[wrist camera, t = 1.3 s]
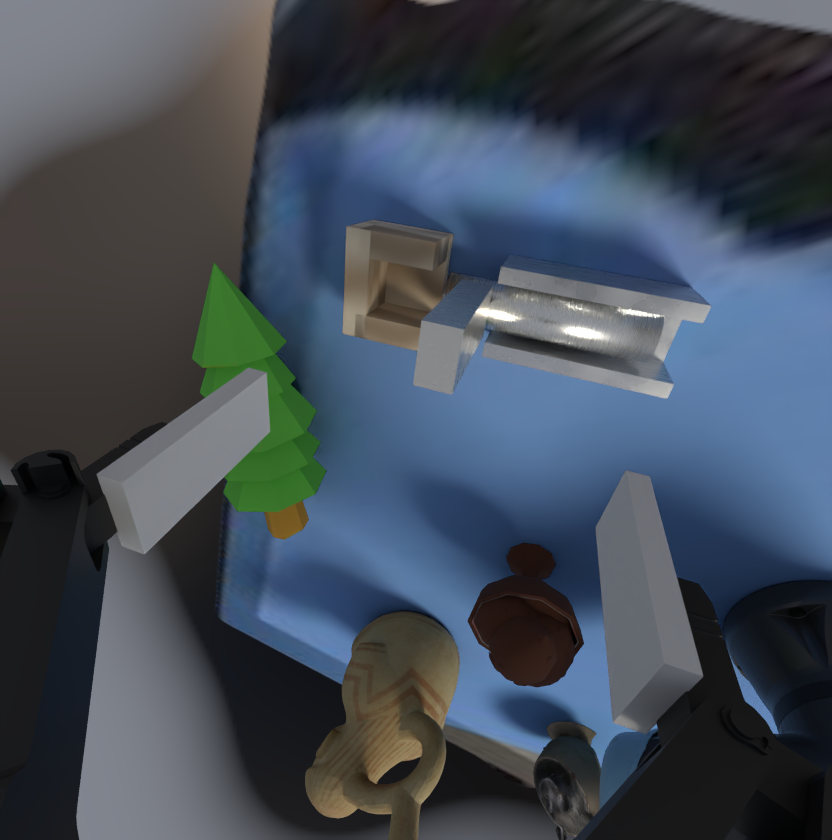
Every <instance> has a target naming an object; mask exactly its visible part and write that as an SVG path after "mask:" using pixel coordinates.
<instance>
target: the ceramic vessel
mask: <svg viewBox="0 0 832 840" xmlns="http://www.w3.org/2000/svg"><path fill="white" fill-rule="evenodd" d="M459 666H460V660H459V653H458V649H457V645H456V643H455V641H454V639H453V638H452V636H451V635H450V634H449V633H448V631H447V630H446V629H445V628H444V627H442V626H441V625H440V624H439V623H437V622H436V621H434V620H433V619H431V618H429V617H427V616H425V615H423V614H419V613H415V612H409V611H398V612H392V613H389V614H385V615H383V616H380V617H378V618H376V619H375V620H373V621H372V622H370V623H369V624H368V625H367V626H365V627H364V628H363V629H362V630H361V631H360V633H359V634H358V635H357V637H356V638H355V639H354V642H353V644H352V657H351V660H350V662H349V664H348V667H347V669H346V672H345V675H344V679H343V684H342V699H343V703H344V707H345V710H346V723H345V724H344V725H341V726H338V727H336V728H335V729H333V730H332V731H331V732H330V733H329V734H328V736H327V737H326V738H325V740H324V742H323V743H322V744H321V746H320V747H319V749H318V751H317V752H316V759H315V761H314V764H313V767H311V768H309V769H308V770H307V772H306V777H305V784H306V791H307V794H308V797H309V799H310V800H311V802H312V804H313V805H314V807H315V808H316V809H317V810H318V811H319V812H320V813H321V814H323V815H325V816H328V817H332V818H342V817H345V816H348V815H350V814H351V813H353V812H354V811H355V810H356V809H357V808H359V809H361V810H363V811H366V812H368V813H374V814H392V815H391V825H390V832H389V839H388V840H418V827H419V825H418V824H419V812H420V805H421V803H422V802H423V801H424V800H425V799H426V798H427V797H428V796H429V795H430V793H431V792H432V790H433V789H434V787H435V786H436V784H437V782H438V781H439V778H440V775H441V773H442V770H443V767H444V763H445V757H446V745H445V738H444V735H443V731H442V729H443V727H444V723H445V717H446V715H447V712H448V709H449V707H450V704H451V701H452V699H453V696H454V692H455V689H456V685H457V680H458V674H459ZM420 756H421V758H420V761H419V763H418V765H417V767H416V768H415V769H414V771H413V772H412V773H411V774H410V775H409V776H408V777H406V778H405V779H403V780H401V781H399V782H396V783H393V784H387V785H382V784H377V781H378V780H379V778H380V777H381V776H382V775H383V774H384V773H385V772H387V771H388V770H389V769H390V768H391V767H393V766H394V765H396V764H397V763H399V762H400V761H406V760H413V759H416V758H418V757H420Z"/></svg>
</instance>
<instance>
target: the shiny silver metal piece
mask: <svg viewBox="0 0 832 840" xmlns="http://www.w3.org/2000/svg"><path fill="white" fill-rule="evenodd" d="M663 325H664V316H662V315H657V314H652V313H647V312H642V311H637V310H631V309H626V308H621V307H616V306H611V305H606V304H601V303H596V302H590V301H585V300H580V299H575V298H570V297H565V296H560V295H554V294H549V293H544V292H539V291H534V290H529V289H524V288H519V287H513V286H508V285H503V284H498V281H494V280H489V279H484V278H479V277H474V276H469V275H464V274H458V273H453V272H451V273H450V275H449V277H448V279H447V282H446V285H445V288H444V292H443V297H442V300H441V301H440V302H439V303H438V304H437V305H436V306H435V307H434V308H433V309H432V310H431V311H430V312H429V313H428V314H427V315H426V316H425V317H424V318H423V319H422V321H421V328H420V336H419V344H418V351H417V359H416V367H415V374H414V382H413V385H415V386H419V387H423V388H427V389H431V390H435V391H439V392H443V393H447V394H451V395H452V394H453V392H454V390H455V388H456V386H457V384H458V382H459V381H460V379H461V377H462V375H463V373H464V371H465V369H466V367H467V365H468V363H469V362H470V360H471V358H472V356H473V354H474V352H475V350H476V348H477V346H478V344H479V343H480V341H481V339H482V337H483V333H484V329H488V330H493V331H497V332H502V333H507V334H511V335H516V336H521V337H525V338H530V339H534V340H539V341H544V342H548V343H553V344H558V345H562V346H567V347H571V348H576V349H581V350H585V351H590V352H595V353H599V354H604V355H608V356H613V357H618V358H622V359H627V360H632V361H636V362H641V363H647V362H648V361H649V360H650V359H651V357H652V356H653V354H654V352H655V350H656V348H657V345H658V343H659V340H660V337H661V334H662V330H663Z"/></svg>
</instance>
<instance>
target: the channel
mask: <svg viewBox="0 0 832 840" xmlns="http://www.w3.org/2000/svg"><path fill="white" fill-rule="evenodd" d="M498 284H503V285H508V286H513V287H519V288H524V289H529V290H534V291H539V292H544V293H549V294H554V295H560V296H565V297H570V298H575V299H580V300H585V301H590V302H596V303H601V304H606V305H611V306H616V307H621V308H626V309H631V310H637V311H642V312H647V313H652V314H657V315H662V316H664V325H663V330H662V334H661V337H660V340H659V343H658V345H657V348H656V350H655V352H654V354H653V356H652V357H651V359H650V360H649V361H648V362H647V363H641V362H636V361H632V360H627V359H622V358H618V357H613V356H608V355H604V354H599V353H595V352H590V351H585V350H581V349H576V348H571V347H567V346H562V345H558V344H553V343H548V342H544V341H539V340H534V339H530V338H525V337H521V336H516V335H511V334H507V333H502V332H497V331H493V330H491V331H490V333H489V335H488V337H487V339H486V341H485V344H484V349H483V354H482V357H486V358H491V359H495V360H500V361H504V362H508V363H513V364H517V365H521V366H526V367H530V368H535V369H539V370H543V371H548V372H552V373H556V374H561V375H565V376H570V377H574V378H578V379H583V380H587V381H591V382H596V383H600V384H605V385H609V386H613V387H618V388H622V389H626V390H631V391H635V392H640V393H644V394H648V395H653V396H657V397H661V398H666V399H667V398H668V396H669V394H670V392H671V390H672V387H673V385H674V383H673V381H672V379H671V377H670V375H669V373H668V371H667V369H666V367H665V365H664V363H663V361H664V359H665V356H666V354H667V352H668V350H669V348H670V345H671V343H672V341H673V339H674V336H675V334H676V332H677V330H678V328H679V325H680V323H681V321H682V319H683V320H688V321H693V322H698V323H704V321H705V318H706V316H707V314H708V312H709V310H710V308H711V305H710V304H709V303H708V302H707V301H706V300H705V299H704V298H703V297H702V296H701V295H700V294H698V293H697V292H696V291H695V290H694V289H693V288H692V287H687V286H681V285H676V284H670V283H665V282H659V281H654V280H648V279H643V278H637V277H632V276H626V275H621V274H615V273H610V272H604V271H599V270H593V269H588V268H582V267H577V266H571V265H566V264H560V263H555V262H549V261H544V260H538V259H532V258H527V257H521V256H516V255H509V256H508V258H507V259H506V260H505V262H504V263H503V265H502V266H501V270H500V274H499V279H498Z"/></svg>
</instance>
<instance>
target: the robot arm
mask: <svg viewBox="0 0 832 840" xmlns="http://www.w3.org/2000/svg"><path fill="white" fill-rule="evenodd" d="M269 432H270V420H269V403H268V386H267V372H263V371H259V370H256V369H252V368H247V369H246V370H244V371H243V372H241V373H240V374H239V375H237V376H236V377H234V378H233V379H231V380H230V381H229V382H227V383H226V384H224V385H223V386H221V387H220V388H219V389H217V390H216V391H214V392H213V393H211V394H210V395H209V396H207V397H206V398H204V399H203V400H202V401H200V402H199V403H197V404H196V405H194V406H193V407H192V408H190V409H189V410H187V411H186V412H184V413H183V414H182V415H180V416H179V417H177V418H176V419H174V420H173V421H172V422H170V423H169V424H166V423H163V422H161V423H158V424H155V425H153V426H150V427H147V428H144V429H143V430H141V431H140V432H138V433H137V434H135V435H134V436H132V437H131V438H130V440H126V441H125V442H124V443H122V444H121V445H119V447H118V448H115V449H113V450H112V451H110V452H109V453H107V454H106V455H104V456H103V457H101V458H100V459H98V460H97V461H95V462H94V463H92V464H91V465H89V466H88V467H86V468H85V469H83V470H82V471H80V468H79V465H78V463H77V460H76V457H75V456H74V455H73V454H72V453H70V452H69V451H64V450H47V451H42V452H38V453H35V454H32V455H30V456H27V457H25V458H23V459H22V460H21V461H19V462H18V463H16V464H15V466H14V467H13V468H12V469H11V472H12V474H13V476H14V478H15V480H16V482H17V483H18V485H3V484H2V482H1V480H0V840H79V836H78V830H77V822H76V813H77V803H78V795H79V787H80V779H81V770H82V763H83V755H84V746H85V738H86V731H87V723H88V722H87V721H88V715H89V706H90V698H91V690H92V682H93V674H94V666H95V658H96V650H97V642H98V634H99V626H100V618H101V610H102V602H103V594H104V586H105V578H106V569H107V561H108V553H109V547H108V542H107V540H108V539H110V538H111V537H112V536H113V535H114V534H115V533H116V532H117V534H118V537H119V540H120V542H121V545H122V546H123V547H126V548H128V549H131V550H134V551H137V552H140V553H142V554H145V553H146V552H147V551H148V550H149V549H150V548H152V547H153V546H154V544H156V543H157V542H158V541H159V540H160V539H161V538H162V537H163V536H164V535H165V534H166V533H167V532H168V531H169V530H170V529H171V528H172V527H173V526H174V525H175V524H176V523H177V522H178V521H179V520H180V519H181V518H182V517H183V516H184V515H185V514H186V513H187V512H188V511H189V510H190V509H192V508H193V507H194V506H195V505H196V504H197V503H198V502H199V501H200V500H201V499H202V498H203V497H204V496H205V495H206V494H207V493H208V492H209V491H210V490H211V489H212V488H213V487H214V486H215V485H216V484H217V483H218V482H219V481H220V480H221V479H222V478H223V477H224V476H225V475H226V474H227V473H228V472H229V471H230V470H232V469H233V468H234V467H235V466H236V465H237V464H238V463H239V462H240V461H241V460H242V459H243V458H244V457H245V456H246V455H247V454H248V453H249V452H250V451H251V450H252V449H253V448H254V447H255V446H256V445H257V444H258V443H259V442H260V441H261V440H262V439H263V438H264V437H265V436H266V435H267V434H268V433H269ZM596 539H597V550H598V562H599V573H600V584H601V595H602V606H603V617H604V629H605V640H606V651H607V662H608V673H609V684H610V696H611V707H612V718H613V723H616V724H618V725H621V726H624V727H627V728H630V729H632V730H635V731H638V732H623V733H620V734H618V735H616V736H615V737H614V738H613V739H612V740H611V742H610V743H609V746H608V747H607V749H606V751H605V754H604V758H603V762H602V767H601V775H600V789H599V811H598V812H597V813H596V815H595V816H594V817H593V818H592V819H591V820H590V821H589V822H588V824H587V825H586V826H585V827H584V828H583V829H582V830H581V832H580V833H579V834H578V835H577V836H576V837H575V839H573V840H832V582H827V581H801V582H792V583H785V584H780V585H776V586H772V587H769V588H765V589H763V590H760V591H758V592H755V593H753V594H751V595H749V596H748V597H746V598H744V599H743V600H741V601H740V602H739V603H737V604H736V605H735V606H734V607H733V608H732V609H731V611H730V612H729V613H728V615H727V617H726V619H725V622H724V626H723V634H724V639H725V641H724V640H723V639H722V638H723V635H722V632H721V629H720V626H719V625H718V624H717V622H718V620H717V617H716V613H715V610H714V607H713V604H712V602H711V601H710V599H709V598H708V596H707V595H706V594H705V592H704V591H703V589H702V588H701V587H700V585H699V584H697V583H694V582H691V581H687V580H684V579H681V578H677V576H676V572H675V569H674V565H673V561H672V557H671V554H670V550H669V546H668V542H667V539H666V535H665V531H664V528H663V524H662V520H661V516H660V513H659V509H658V505H657V502H656V498H655V494H654V490H653V487H652V483H651V479H650V477H649V476H646V475H642V474H638V473H634V472H631V471H627V470H626V471H625V473H624V474H623V476H622V478H621V480H620V482H619V484H618V486H617V488H616V490H615V491H614V493H613V495H612V497H611V499H610V501H609V503H608V505H607V507H606V509H605V510H604V512H603V514H602V516H601V518H600V520H599V522H598V524H597V526H596ZM725 642H726V644H725ZM726 645H727V647H726ZM727 648H728V650H727ZM728 651H729V653H728ZM729 654H730V656H731V659H732V661H733V662H734V664H735V666H736V667H737V669H738V670H739V671H740V672H741V674H742V675H743V676H744V677H745V678H746V679H747V680H748V681H749V682H750V683H751V685H752V686H753V688H754V689H755V691H756V693H757V694H758V696H759V697H760V699H761V700H762V702H763V703H764V704H765V706H766V707H767V709H768V710H769V711H770V713H771V714H772V716H773V719H774V721H775V724H776V726H777V729H778V732H779V734H773V733H772V731H771V729H770V727H769V726H768V724H767V722H766V721H765V720H764V719H763V718H762V716H761V715H760V714H759V713H758V712H757V711H756V710H755V709H754V708H753V707H752V706H750V705H749V704H748V703H746V702H745V700H744V698H743V695H742V692H741V689H740V686H739V683H738V680H737V677H736V674H735V671H734V668H733V665H732V662H731V659H730V656H729ZM656 724H657V727H658V728H657V729H653V730H651V729H652V728H653V727H654V726H655V725H656ZM650 730H651V731H650Z"/></svg>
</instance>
